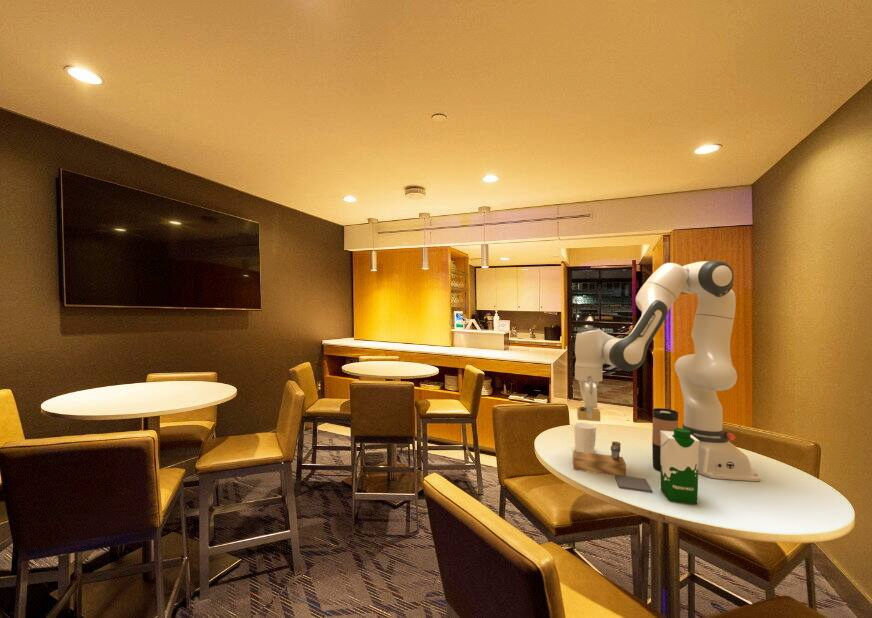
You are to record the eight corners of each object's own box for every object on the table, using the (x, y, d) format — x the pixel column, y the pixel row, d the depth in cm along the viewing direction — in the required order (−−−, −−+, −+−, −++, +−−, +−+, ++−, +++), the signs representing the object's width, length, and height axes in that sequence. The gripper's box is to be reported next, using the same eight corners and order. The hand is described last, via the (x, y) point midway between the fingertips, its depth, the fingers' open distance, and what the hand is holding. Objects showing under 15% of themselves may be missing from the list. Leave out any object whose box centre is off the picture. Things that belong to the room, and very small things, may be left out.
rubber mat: (645, 480, 121) (645, 478, 121) (652, 492, 113) (652, 490, 113) (614, 476, 124) (614, 474, 124) (619, 488, 115) (619, 486, 115)
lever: (612, 448, 130) (612, 438, 130) (620, 450, 128) (620, 439, 128) (609, 457, 121) (609, 446, 121) (618, 459, 120) (618, 448, 120)
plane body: (622, 468, 130) (622, 448, 131) (625, 476, 124) (626, 455, 124) (572, 462, 135) (572, 443, 135) (573, 469, 128) (574, 449, 129)
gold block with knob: (598, 417, 132) (598, 406, 132) (600, 421, 127) (600, 410, 127) (577, 416, 134) (577, 405, 134) (578, 419, 129) (578, 408, 129)
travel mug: (676, 467, 132) (676, 409, 133) (679, 475, 125) (680, 414, 126) (650, 463, 136) (651, 407, 136) (653, 471, 129) (653, 411, 129)
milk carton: (667, 502, 107) (668, 431, 107) (656, 488, 116) (657, 422, 116) (702, 506, 105) (703, 434, 105) (688, 492, 114) (689, 424, 114)
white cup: (599, 455, 143) (599, 428, 143) (577, 454, 143) (578, 428, 143) (591, 448, 150) (591, 422, 151) (570, 447, 151) (571, 422, 151)
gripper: (602, 380, 120) (602, 424, 120) (595, 371, 140) (595, 409, 139) (580, 379, 122) (580, 422, 122) (577, 370, 142) (577, 407, 141)
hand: (588, 415), depth 131 cm, fingers closed on gold block with knob, 5 cm apart
